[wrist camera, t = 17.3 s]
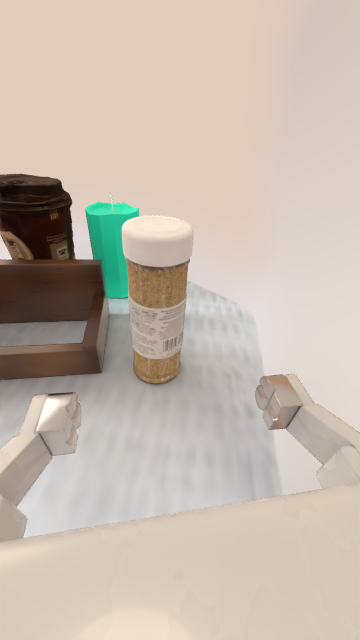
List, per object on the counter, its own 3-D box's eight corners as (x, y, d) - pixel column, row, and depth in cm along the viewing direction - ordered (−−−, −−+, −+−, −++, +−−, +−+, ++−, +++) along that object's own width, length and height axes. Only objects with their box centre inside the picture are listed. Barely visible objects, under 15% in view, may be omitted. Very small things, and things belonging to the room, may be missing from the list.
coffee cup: (24, 311, 29) (-25, 188, 21) (11, 281, 34) (-34, 172, 26) (96, 291, 33) (78, 183, 25) (74, 267, 38) (53, 170, 30)
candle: (144, 296, 33) (141, 200, 26) (98, 300, 32) (80, 199, 24) (138, 275, 38) (135, 188, 30) (98, 278, 36) (83, 187, 29)
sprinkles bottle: (165, 344, 26) (171, 210, 18) (189, 374, 23) (209, 230, 15) (125, 359, 24) (110, 216, 16) (145, 394, 21) (139, 240, 13)
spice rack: (-73, 384, 20) (-133, 318, 16) (-19, 317, 27) (-51, 259, 23) (101, 372, 23) (89, 311, 18) (109, 313, 30) (102, 259, 25)
